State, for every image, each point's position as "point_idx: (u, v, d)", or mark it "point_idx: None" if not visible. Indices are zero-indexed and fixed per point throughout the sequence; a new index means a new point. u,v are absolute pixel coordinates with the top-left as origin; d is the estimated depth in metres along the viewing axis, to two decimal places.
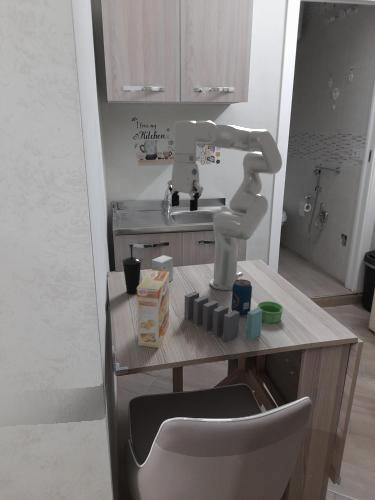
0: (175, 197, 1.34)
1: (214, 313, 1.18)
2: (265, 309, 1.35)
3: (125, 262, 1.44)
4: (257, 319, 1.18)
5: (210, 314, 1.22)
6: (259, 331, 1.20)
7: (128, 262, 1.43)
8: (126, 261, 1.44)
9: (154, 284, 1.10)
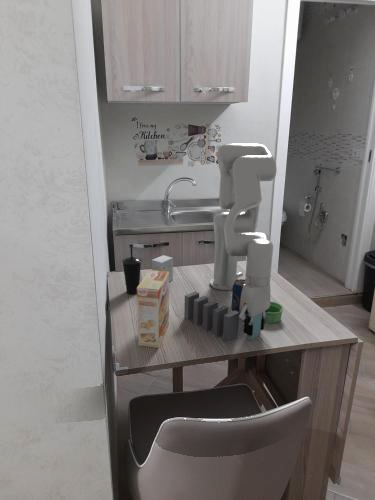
0: None
1: (214, 313, 1.18)
2: None
3: (125, 262, 1.44)
4: (257, 319, 1.18)
5: (210, 314, 1.22)
6: (259, 331, 1.20)
7: (128, 262, 1.43)
8: (126, 261, 1.44)
9: (154, 284, 1.10)
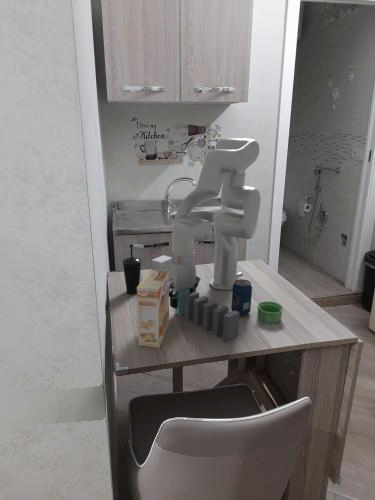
0: None
1: (214, 313, 1.18)
2: (265, 309, 1.35)
3: (125, 262, 1.44)
4: None
5: (210, 314, 1.22)
6: None
7: (128, 262, 1.43)
8: (126, 261, 1.44)
9: (154, 284, 1.10)
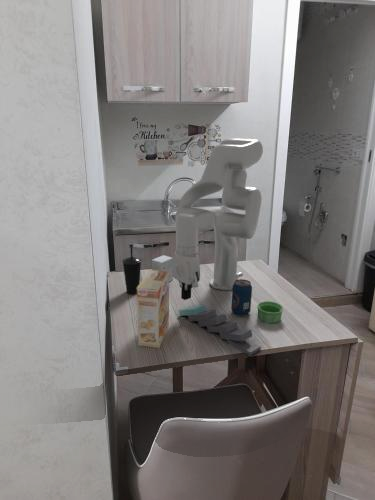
0: None
1: (238, 336, 1.12)
2: (265, 309, 1.35)
3: (125, 262, 1.44)
4: None
5: None
6: None
7: (128, 262, 1.43)
8: (126, 261, 1.44)
9: (154, 284, 1.10)
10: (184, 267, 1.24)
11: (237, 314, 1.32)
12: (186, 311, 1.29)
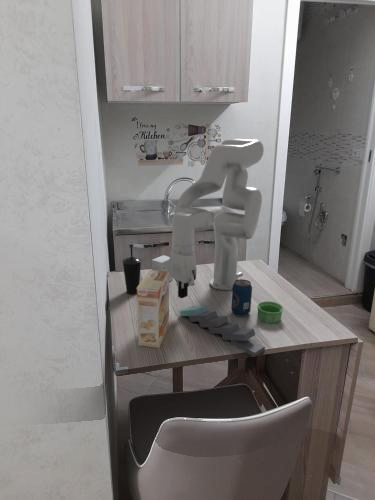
0: None
1: (241, 336, 1.12)
2: (265, 309, 1.35)
3: (125, 262, 1.44)
4: None
5: None
6: None
7: (128, 262, 1.43)
8: (126, 261, 1.44)
9: (154, 284, 1.10)
10: (181, 266, 1.25)
11: (237, 314, 1.32)
12: (187, 312, 1.29)
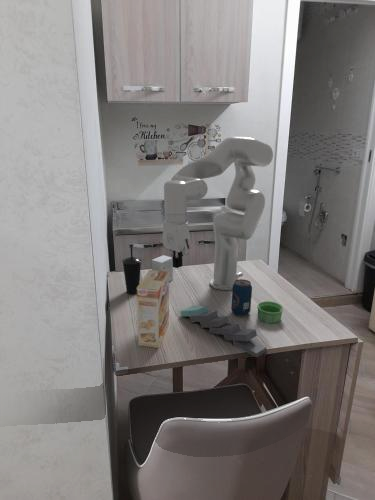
0: None
1: (243, 336, 1.12)
2: (265, 309, 1.35)
3: (125, 262, 1.44)
4: None
5: None
6: None
7: (128, 262, 1.43)
8: (126, 261, 1.44)
9: (154, 284, 1.10)
10: (174, 235, 1.26)
11: (237, 314, 1.32)
12: (187, 312, 1.28)
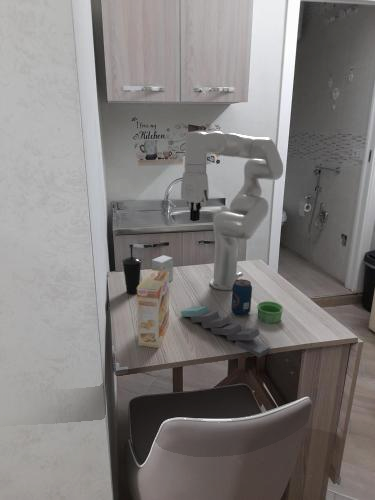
0: None
1: (246, 335, 1.12)
2: (265, 309, 1.35)
3: (125, 262, 1.44)
4: None
5: None
6: None
7: (128, 262, 1.43)
8: (126, 261, 1.44)
9: (154, 284, 1.10)
10: (193, 185, 1.27)
11: (237, 314, 1.32)
12: (188, 312, 1.28)
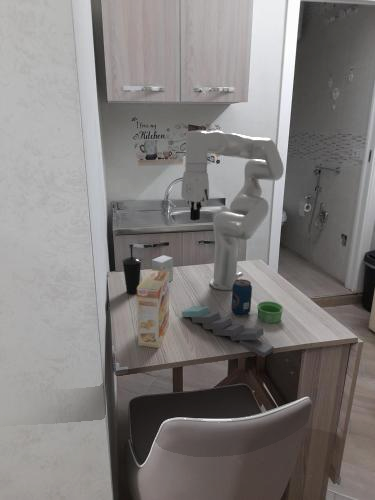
0: None
1: (252, 335, 1.12)
2: (265, 309, 1.35)
3: (125, 262, 1.44)
4: None
5: None
6: None
7: (128, 262, 1.43)
8: (126, 261, 1.44)
9: (154, 284, 1.10)
10: (193, 185, 1.27)
11: (237, 314, 1.32)
12: (189, 313, 1.28)
